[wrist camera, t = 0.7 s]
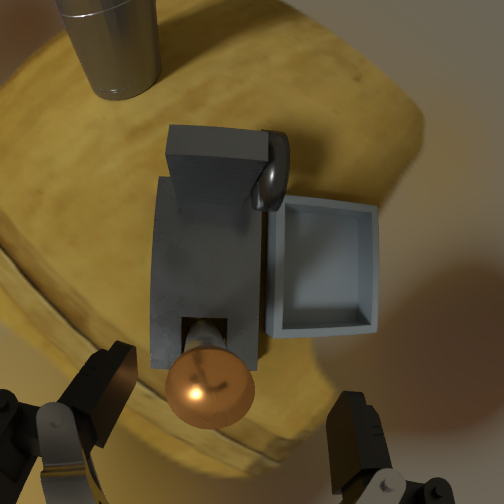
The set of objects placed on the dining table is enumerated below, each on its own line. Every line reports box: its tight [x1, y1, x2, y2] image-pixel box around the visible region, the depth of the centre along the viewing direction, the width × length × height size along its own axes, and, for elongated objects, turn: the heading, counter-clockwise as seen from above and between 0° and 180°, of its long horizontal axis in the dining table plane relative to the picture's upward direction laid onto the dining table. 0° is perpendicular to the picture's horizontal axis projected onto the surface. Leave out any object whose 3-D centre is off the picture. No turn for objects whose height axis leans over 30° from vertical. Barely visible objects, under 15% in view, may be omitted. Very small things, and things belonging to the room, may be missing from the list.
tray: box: [264, 195, 379, 338], centre depth 29 cm, size 13×11×4 cm
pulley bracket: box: [150, 125, 290, 371], centre depth 22 cm, size 20×10×13 cm, turn 178°
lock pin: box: [165, 320, 255, 429], centre depth 20 cm, size 4×4×15 cm
